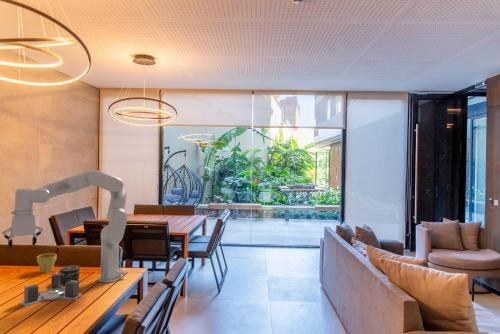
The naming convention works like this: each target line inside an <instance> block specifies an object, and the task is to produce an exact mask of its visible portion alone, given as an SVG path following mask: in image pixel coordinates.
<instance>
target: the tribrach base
mask: <svg viewBox="0 0 500 334" xmlns="http://www.w3.org/2000/svg"><path fill="white" fill-rule="evenodd" d="M81 295H83V294H82V293H80V292H79V293H78V294H77V295H75V296H73V297H71V296H65V287H64V284H62V286H61V287H58V288H51V287H50V288H49V289H46V290H43V291H41V292H40V293H39V295H38V300H34V301H31V302H26V301H25V300H24V299H23V300H21V301H20V304H21V305H22V306H23V307H27V306H30V305H34V304H37V303H40V302H45V301H46V302H48V301H49V302H50V301H51V302H52V301H56V300H57V301H58V300H60V299H61V300H71V299H73V301H75V300H77V299H78V297H79V298H80V297H82V296H81Z"/></svg>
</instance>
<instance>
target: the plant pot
mask: <svg viewBox="0 0 500 334" xmlns="http://www.w3.org/2000/svg"><path fill="white" fill-rule="evenodd" d="M57 256H58V255H57V253H53V252H52V253H51V252H50V253H49V252H48V253H43V254H42V253H41V254H39V255H37V256H36V263H37V264H38V267H39V272H40V273H42V274H43V273H46V274H47V273H50V272H52V271H53V270H54V268H55V267H54V266H55V264H56V261H57Z"/></svg>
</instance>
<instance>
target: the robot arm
mask: <svg viewBox="0 0 500 334" xmlns="http://www.w3.org/2000/svg"><path fill="white" fill-rule="evenodd" d="M124 185H125V184H124V182H123V180H122V179H121V178H119V177H118V176H113V175H112V174H108V173H105V172H103V171H101V170H97V169H90V170H87V171H84V172H81V173H78V174H74V175H73V176H70V177H69V176H68V177H66V178H63V179H61V180H57V181H55V182H52V183H49V184H46V185H43V186H40V187H38V188H36V189H32V188H17V189H16V190H15V193H14V195H15V197H14V210H11V212H10V214H11V215H13V216H12V218H11V219H12V220H11V224H10V227H9V228H7V229H4V230H3V231H1V235H3V237H4V238H5V239H6V240H8V241H7V246H8V247H9V248H10V249H13V238H15V237H24V236H25V237H26V236H32V241H31V244H32V246H34V247H35V246H36V244H37V239H38V237H39V236H40V235H41V234H42V232H43V230H44V228H43V227H40V226H37V225H36V224H37V223H36V216H35V214H33V211H34V209H33V208H34V207H33V206H34V203H35V204H36V203H37V204H45V203H47V202H49V201H50V199H52V198H54V197H58V196H60V195H64V194H72V193H75V192H78V191H81V190H84V189H86V188H89V187H92V186H94V187H97V188H100V189H101V190H102V189H103V190H106V191H109V193H110V200H109V205H108V209H107V213H106V219H107V221H108V223H107V225H105V226H104V227H103V228H102V229H101V232H100V243H101V244H100V245H101V246H100V250H101V251H100V275H99V276H98V277H97V282H99V283H105V284H106V283H113V282H117V281H119V280H121V278H122V276H126V275H127V271H125V270H120V269H119V259H120V258H119V257H120V256H119V255H120V253H119V252H120V251H119V250H120V242H121V241H122V239H123V238H124V235H125V231H126V226H127V224H128V223H127V222H128V215H127V211H125V206H126V202H127V201H126V200H127V191H126V189H125V186H124ZM36 230H38V231H37V232H36ZM9 232H10V235H7V233H9Z"/></svg>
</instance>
